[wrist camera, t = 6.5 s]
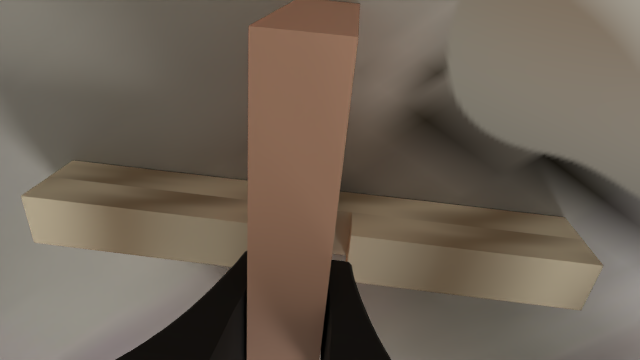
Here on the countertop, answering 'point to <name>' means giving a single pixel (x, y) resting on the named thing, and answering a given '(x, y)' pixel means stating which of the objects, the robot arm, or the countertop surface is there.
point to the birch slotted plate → (350, 235)
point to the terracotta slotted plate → (295, 170)
